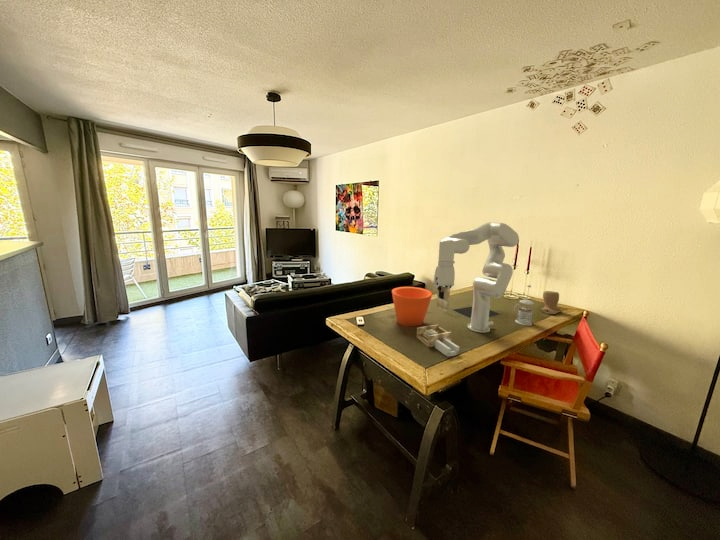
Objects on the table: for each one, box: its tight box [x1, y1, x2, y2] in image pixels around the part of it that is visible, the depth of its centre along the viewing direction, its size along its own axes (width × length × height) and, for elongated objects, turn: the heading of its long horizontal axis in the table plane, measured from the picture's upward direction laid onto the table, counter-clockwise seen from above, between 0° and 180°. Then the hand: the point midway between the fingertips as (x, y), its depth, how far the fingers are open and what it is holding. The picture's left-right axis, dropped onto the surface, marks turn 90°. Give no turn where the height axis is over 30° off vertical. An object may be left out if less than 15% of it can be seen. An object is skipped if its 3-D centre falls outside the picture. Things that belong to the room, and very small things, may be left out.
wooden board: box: [436, 287, 451, 312], centre depth 142 cm, size 2×7×12 cm, turn 22°
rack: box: [416, 323, 453, 348], centre depth 144 cm, size 14×11×7 cm
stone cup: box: [540, 290, 562, 315], centre depth 193 cm, size 15×12×15 cm
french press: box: [513, 284, 535, 326], centre depth 172 cm, size 10×12×25 cm
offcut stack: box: [423, 329, 438, 341], centre depth 143 cm, size 5×7×6 cm
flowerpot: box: [391, 286, 433, 328], centre depth 169 cm, size 25×25×20 cm
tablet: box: [451, 306, 502, 320], centre depth 191 cm, size 27×1×20 cm
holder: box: [433, 338, 460, 358], centre depth 134 cm, size 7×10×5 cm, turn 22°
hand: (443, 297), depth 141 cm, fingers closed on wooden board, 2 cm apart
